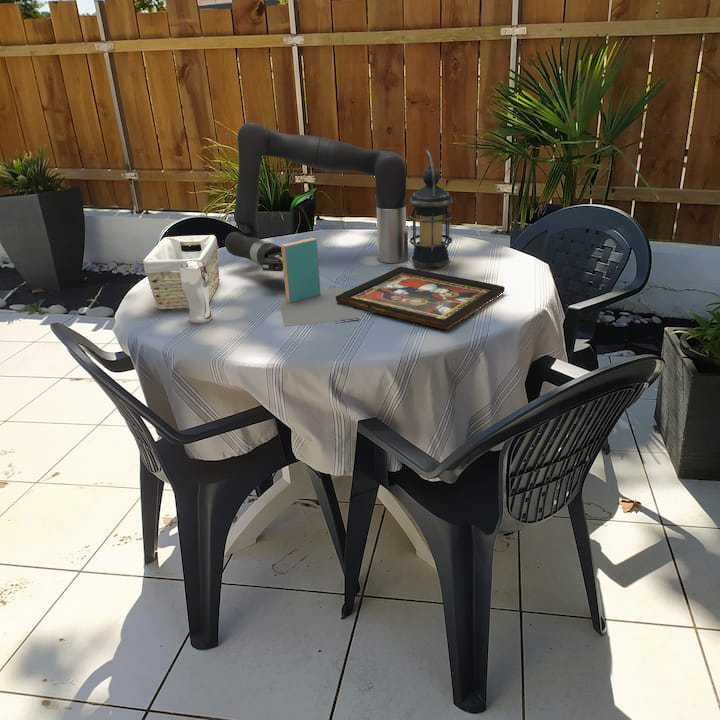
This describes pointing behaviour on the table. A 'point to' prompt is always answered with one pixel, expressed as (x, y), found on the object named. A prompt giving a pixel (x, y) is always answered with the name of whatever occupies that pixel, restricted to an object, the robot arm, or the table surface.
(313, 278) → the tile
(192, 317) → the beer glass
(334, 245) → the table surface
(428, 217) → the lantern
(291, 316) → the mat
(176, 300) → the storage basket
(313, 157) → the robot arm
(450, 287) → the religious icon
